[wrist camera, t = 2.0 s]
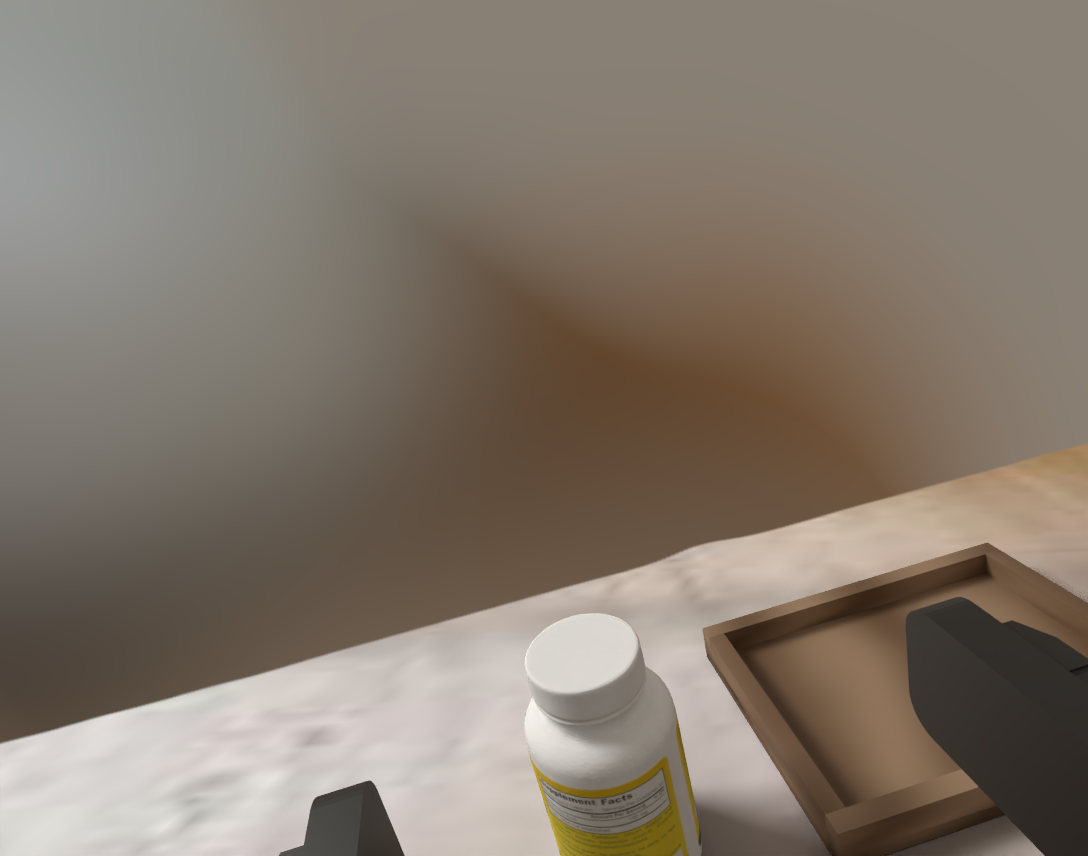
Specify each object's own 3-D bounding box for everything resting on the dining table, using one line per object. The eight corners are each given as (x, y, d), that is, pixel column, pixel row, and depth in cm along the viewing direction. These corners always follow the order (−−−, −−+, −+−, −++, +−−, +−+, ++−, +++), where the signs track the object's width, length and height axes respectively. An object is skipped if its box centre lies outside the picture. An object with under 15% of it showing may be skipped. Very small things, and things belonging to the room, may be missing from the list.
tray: (841, 870, 24) (837, 834, 23) (707, 656, 35) (702, 628, 35) (1237, 735, 25) (1244, 698, 25) (986, 571, 37) (987, 542, 36)
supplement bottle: (603, 774, 30) (557, 589, 26) (723, 818, 27) (688, 614, 23) (537, 886, 26) (473, 684, 22) (669, 952, 23) (618, 729, 19)
